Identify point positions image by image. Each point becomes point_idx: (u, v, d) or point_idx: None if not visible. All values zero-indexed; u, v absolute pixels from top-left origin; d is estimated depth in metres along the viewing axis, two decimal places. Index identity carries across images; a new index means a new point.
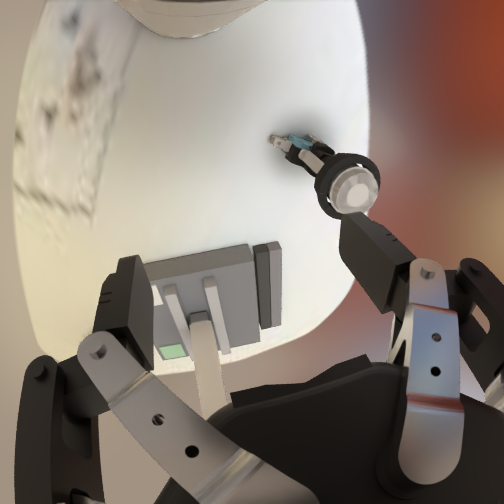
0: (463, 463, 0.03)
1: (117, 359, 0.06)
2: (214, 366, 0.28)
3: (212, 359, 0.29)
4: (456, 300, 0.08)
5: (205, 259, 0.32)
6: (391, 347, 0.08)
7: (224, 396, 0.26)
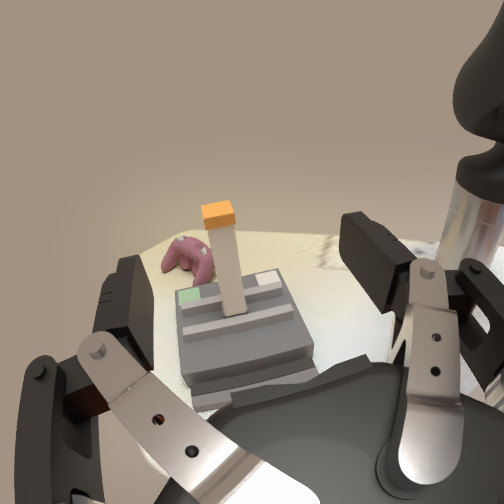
0: (463, 463, 0.03)
1: (117, 359, 0.06)
2: None
3: None
4: (456, 300, 0.08)
5: None
6: (391, 347, 0.08)
7: (236, 244, 0.29)
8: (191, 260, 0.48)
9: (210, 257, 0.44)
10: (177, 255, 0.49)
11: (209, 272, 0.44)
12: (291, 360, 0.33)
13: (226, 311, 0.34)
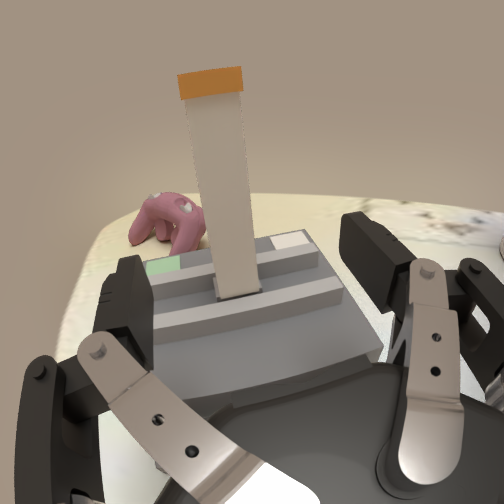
0: (463, 463, 0.03)
1: (117, 359, 0.06)
2: None
3: None
4: (456, 300, 0.08)
5: None
6: (391, 347, 0.08)
7: None
8: (171, 227, 0.33)
9: (196, 217, 0.28)
10: (151, 220, 0.33)
11: (194, 240, 0.29)
12: None
13: (221, 288, 0.18)
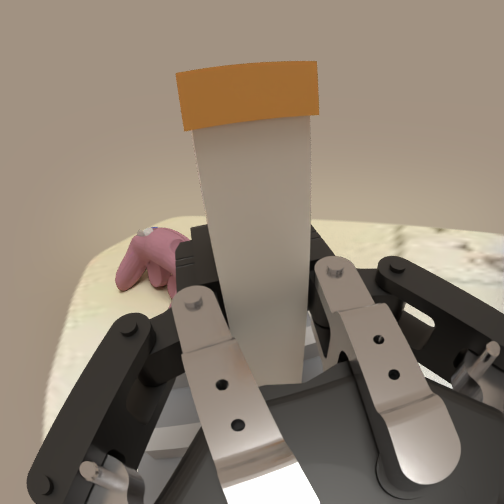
0: (463, 464, 0.03)
1: (209, 316, 0.07)
2: None
3: None
4: (372, 301, 0.08)
5: None
6: (323, 355, 0.08)
7: (309, 208, 0.07)
8: (167, 270, 0.26)
9: None
10: (143, 261, 0.26)
11: None
12: None
13: None
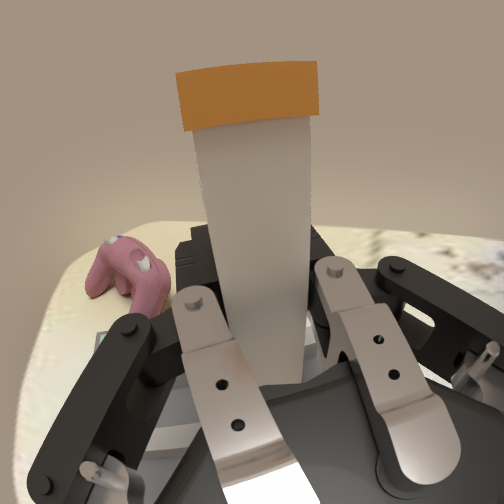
0: (463, 464, 0.03)
1: (209, 317, 0.07)
2: None
3: None
4: (372, 301, 0.08)
5: None
6: (323, 355, 0.08)
7: (309, 208, 0.07)
8: None
9: (155, 277, 0.21)
10: (110, 269, 0.26)
11: (155, 306, 0.22)
12: None
13: None
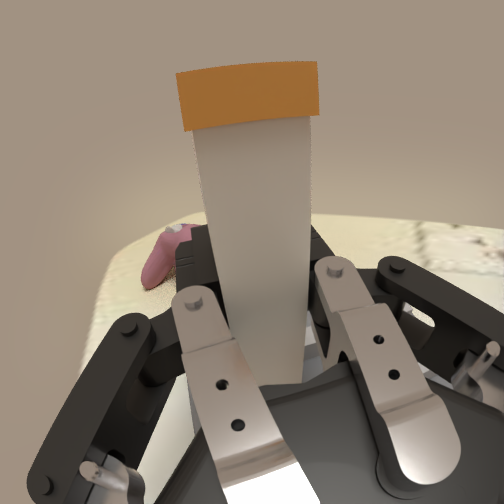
0: (463, 463, 0.03)
1: (209, 316, 0.07)
2: None
3: None
4: (372, 301, 0.08)
5: None
6: (323, 355, 0.08)
7: (309, 208, 0.07)
8: None
9: None
10: (170, 258, 0.26)
11: None
12: None
13: None
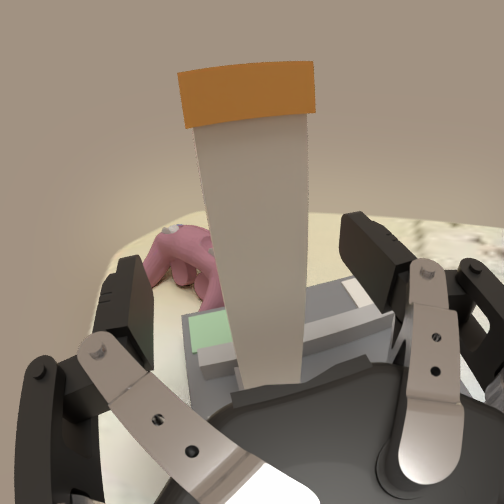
0: (463, 463, 0.03)
1: (117, 359, 0.06)
2: None
3: None
4: (456, 300, 0.08)
5: None
6: (391, 347, 0.08)
7: (306, 204, 0.07)
8: (193, 269, 0.26)
9: None
10: (167, 259, 0.26)
11: None
12: None
13: None
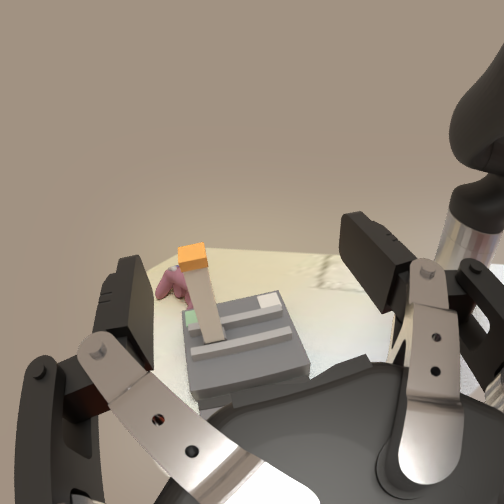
0: (463, 463, 0.03)
1: (117, 359, 0.06)
2: None
3: None
4: (456, 300, 0.08)
5: None
6: (391, 347, 0.08)
7: (210, 283, 0.31)
8: (184, 289, 0.49)
9: None
10: (170, 283, 0.50)
11: None
12: (289, 377, 0.35)
13: (205, 339, 0.36)
